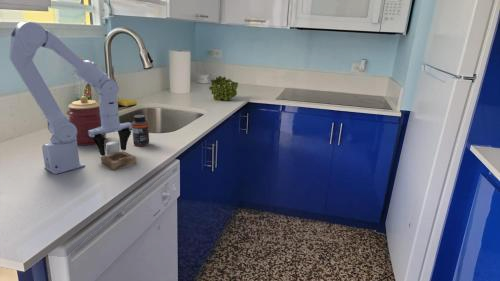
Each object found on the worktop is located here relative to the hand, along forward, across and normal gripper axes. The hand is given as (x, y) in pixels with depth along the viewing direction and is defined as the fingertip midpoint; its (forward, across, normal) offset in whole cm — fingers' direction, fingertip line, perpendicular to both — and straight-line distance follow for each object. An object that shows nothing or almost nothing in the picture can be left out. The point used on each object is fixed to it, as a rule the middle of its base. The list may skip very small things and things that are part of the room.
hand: (113, 152), depth 119 cm
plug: (+2, 0, 0) cm, 2 cm away
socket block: (+2, -2, -7) cm, 8 cm away
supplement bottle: (+2, +14, +5) cm, 15 cm away
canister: (+2, +2, +23) cm, 24 cm away
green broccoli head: (+2, +99, +45) cm, 109 cm away
